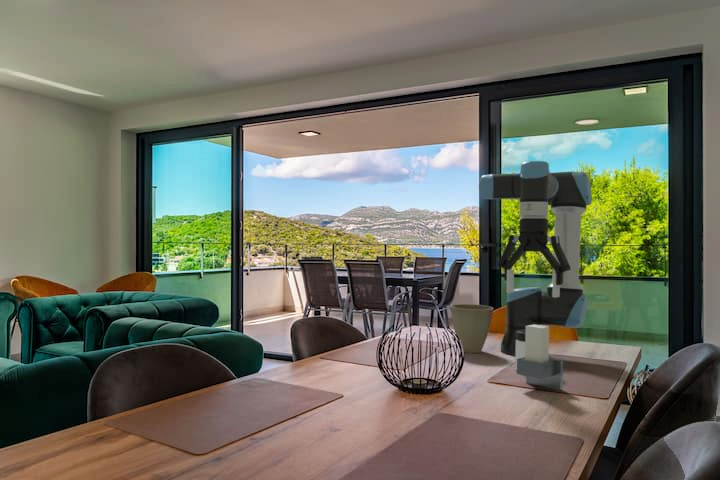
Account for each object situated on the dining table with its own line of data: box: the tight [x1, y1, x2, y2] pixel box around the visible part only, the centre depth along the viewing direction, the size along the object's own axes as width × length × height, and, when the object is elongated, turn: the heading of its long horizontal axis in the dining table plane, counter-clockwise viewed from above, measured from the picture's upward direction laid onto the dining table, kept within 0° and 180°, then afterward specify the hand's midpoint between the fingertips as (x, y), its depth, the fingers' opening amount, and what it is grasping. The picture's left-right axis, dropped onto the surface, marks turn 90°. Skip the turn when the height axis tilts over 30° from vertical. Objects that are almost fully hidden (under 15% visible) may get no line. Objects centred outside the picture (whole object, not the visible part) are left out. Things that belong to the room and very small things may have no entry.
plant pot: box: [450, 303, 494, 354], centre depth 196 cm, size 15×15×16 cm
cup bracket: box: [516, 357, 564, 391], centre depth 148 cm, size 9×10×8 cm
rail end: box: [525, 324, 550, 363], centre depth 148 cm, size 4×4×12 cm
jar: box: [514, 329, 526, 372], centre depth 169 cm, size 9×8×12 cm
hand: (532, 294), depth 151 cm, fingers open, 13 cm apart
